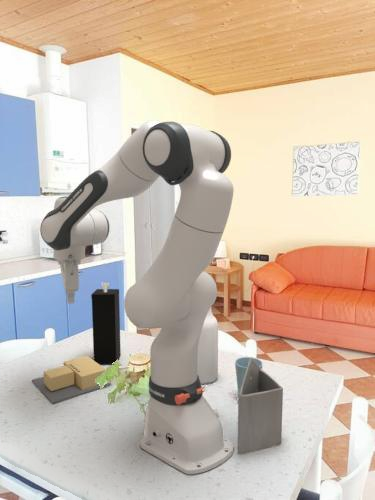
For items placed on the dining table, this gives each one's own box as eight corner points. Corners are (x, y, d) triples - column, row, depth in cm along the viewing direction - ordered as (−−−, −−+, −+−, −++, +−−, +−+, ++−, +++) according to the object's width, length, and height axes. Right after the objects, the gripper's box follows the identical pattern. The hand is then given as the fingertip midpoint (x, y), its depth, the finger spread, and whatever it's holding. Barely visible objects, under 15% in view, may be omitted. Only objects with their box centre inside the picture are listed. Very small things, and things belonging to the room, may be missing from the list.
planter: (272, 464, 84) (274, 377, 82) (236, 453, 88) (238, 370, 86) (288, 425, 99) (291, 351, 96) (257, 417, 102) (259, 345, 100)
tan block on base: (111, 385, 120) (111, 371, 120) (52, 404, 109) (51, 388, 109) (86, 366, 134) (85, 353, 134) (31, 381, 123) (31, 367, 123)
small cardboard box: (74, 384, 119) (73, 371, 119) (51, 391, 115) (50, 378, 115) (66, 377, 124) (66, 365, 124) (44, 383, 120) (43, 371, 119)
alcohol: (208, 387, 119) (209, 289, 115) (184, 380, 124) (184, 286, 120) (222, 376, 126) (223, 284, 123) (199, 370, 131) (199, 281, 127)
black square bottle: (116, 365, 135) (114, 284, 132) (93, 364, 136) (90, 284, 132) (120, 356, 143) (119, 279, 140) (99, 356, 143) (96, 279, 140)
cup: (267, 400, 111) (268, 364, 110) (244, 406, 108) (244, 369, 107) (252, 388, 118) (252, 355, 117) (230, 394, 115) (230, 359, 114)
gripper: (84, 259, 107) (84, 308, 109) (77, 246, 125) (77, 288, 128) (59, 259, 104) (60, 309, 107) (56, 246, 123) (57, 289, 126)
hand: (69, 298), depth 117 cm, fingers open, 8 cm apart
